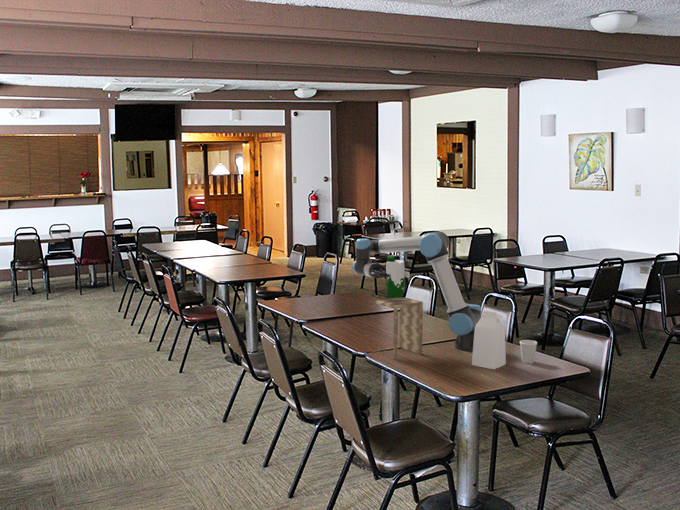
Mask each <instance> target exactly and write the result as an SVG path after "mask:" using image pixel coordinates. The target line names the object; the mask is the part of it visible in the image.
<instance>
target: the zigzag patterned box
mask: <svg viewBox="0 0 680 510" xmlns="http://www.w3.org/2000/svg"><path fill="white" fill-rule="evenodd" d="M374 303H375V305H379V306H382V307H385V308H386V307H387V308H390V309H393V319H392V320H393V327H392V329H393V331H392V332H393V335H392V337H393V338H392V339H393V340H392V341H393V342H392V343H393V344H392V345H393V346H392V347H393V348H392V351H393V352H392V359H394V360H397V359H398V347H399V348H401V349H404V350H406V351H408V352H412V353H415V354H419V355H422V354H423V325H424V324H423V320H424V319H423V316H424V315H423V313H424V312H423V311H424V308H423V307H424V306H423V305H424V302H423V301H422V300H417V299H412V298H409V297H403V296H402V297H401V298H393V297H390V298H386V299H385V298H384V299H378V300H375V301H374ZM398 318H399V319H398ZM398 322H399V323H398ZM398 324H399V325H398ZM398 326H399V327H398ZM398 332H399V333H398ZM398 334H399V338H398ZM398 340H399V344H398ZM398 345H399V346H398Z"/></svg>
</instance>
